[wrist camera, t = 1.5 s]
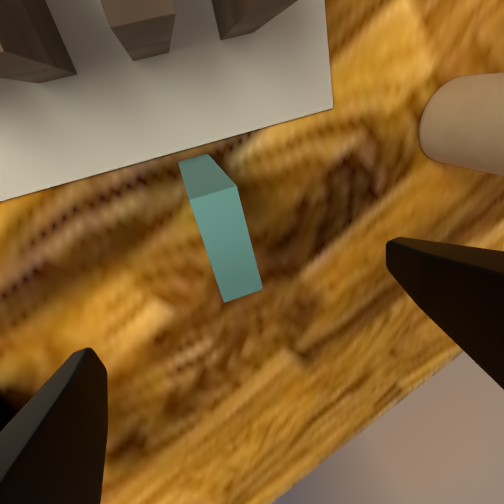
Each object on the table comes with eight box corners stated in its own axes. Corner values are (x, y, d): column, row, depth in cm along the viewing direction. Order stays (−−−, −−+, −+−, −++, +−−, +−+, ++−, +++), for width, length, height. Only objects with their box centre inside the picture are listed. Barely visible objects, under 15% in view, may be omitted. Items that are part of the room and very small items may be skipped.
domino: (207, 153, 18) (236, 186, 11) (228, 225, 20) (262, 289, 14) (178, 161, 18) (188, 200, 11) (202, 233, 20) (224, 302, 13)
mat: (331, 107, 19) (333, 107, 19) (-178, 250, 15) (-183, 252, 15) (298, -274, 12) (300, -282, 12) (-628, -177, 9) (-652, -185, 8)
